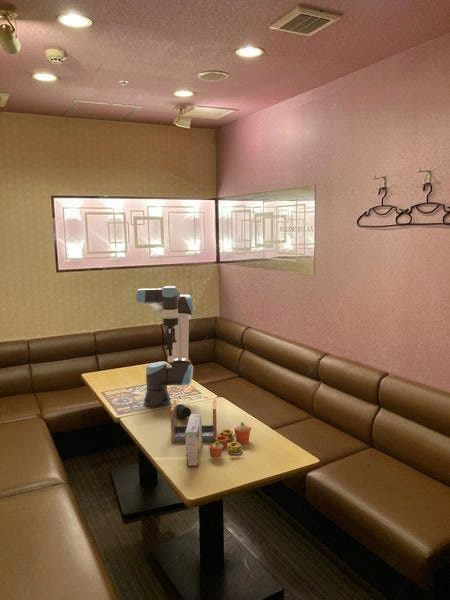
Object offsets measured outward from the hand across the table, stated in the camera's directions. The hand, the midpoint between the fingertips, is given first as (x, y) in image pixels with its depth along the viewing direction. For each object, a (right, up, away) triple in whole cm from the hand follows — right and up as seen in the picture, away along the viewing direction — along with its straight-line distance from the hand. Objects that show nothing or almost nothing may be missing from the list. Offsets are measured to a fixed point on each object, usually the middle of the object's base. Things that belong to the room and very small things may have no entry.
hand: (171, 358), depth 243 cm
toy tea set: (+29, -38, -25) cm, 54 cm away
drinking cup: (+7, -28, +2) cm, 29 cm away
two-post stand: (+12, -36, -12) cm, 40 cm away
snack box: (+14, -39, -32) cm, 52 cm away
